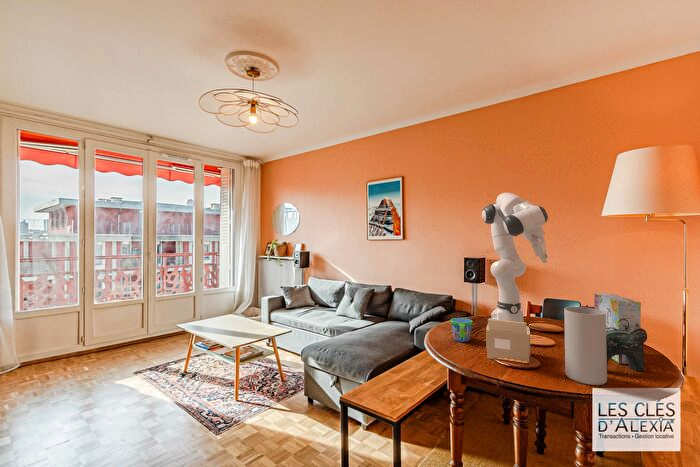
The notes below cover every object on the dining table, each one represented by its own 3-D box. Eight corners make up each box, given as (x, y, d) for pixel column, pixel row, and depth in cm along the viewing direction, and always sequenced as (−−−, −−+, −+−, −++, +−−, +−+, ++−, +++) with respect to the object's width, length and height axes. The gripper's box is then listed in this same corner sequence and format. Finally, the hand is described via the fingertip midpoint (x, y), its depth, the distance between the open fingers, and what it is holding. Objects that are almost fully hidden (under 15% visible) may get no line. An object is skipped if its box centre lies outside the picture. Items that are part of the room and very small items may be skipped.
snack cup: (452, 334, 177) (452, 315, 177) (473, 336, 173) (473, 317, 173) (449, 343, 163) (449, 323, 163) (472, 346, 159) (471, 325, 159)
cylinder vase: (593, 388, 114) (591, 316, 114) (557, 375, 125) (556, 308, 125) (614, 382, 119) (613, 312, 119) (578, 369, 130) (577, 305, 130)
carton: (488, 347, 157) (488, 322, 157) (529, 352, 149) (528, 326, 149) (486, 358, 143) (485, 330, 143) (530, 364, 135) (530, 335, 136)
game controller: (638, 366, 132) (637, 316, 132) (653, 373, 126) (652, 320, 126) (589, 367, 132) (588, 317, 132) (601, 374, 125) (601, 321, 125)
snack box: (643, 366, 132) (642, 302, 133) (618, 364, 135) (617, 301, 135) (614, 348, 153) (613, 292, 154) (593, 347, 156) (592, 292, 156)
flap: (487, 318, 137) (487, 319, 137) (526, 322, 131) (526, 323, 130) (489, 328, 143) (489, 329, 143) (526, 332, 137) (526, 333, 136)
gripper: (539, 234, 148) (552, 263, 148) (541, 228, 165) (553, 253, 165) (524, 239, 152) (537, 267, 151) (528, 232, 169) (539, 257, 168)
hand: (545, 260), depth 158 cm, fingers open, 8 cm apart
